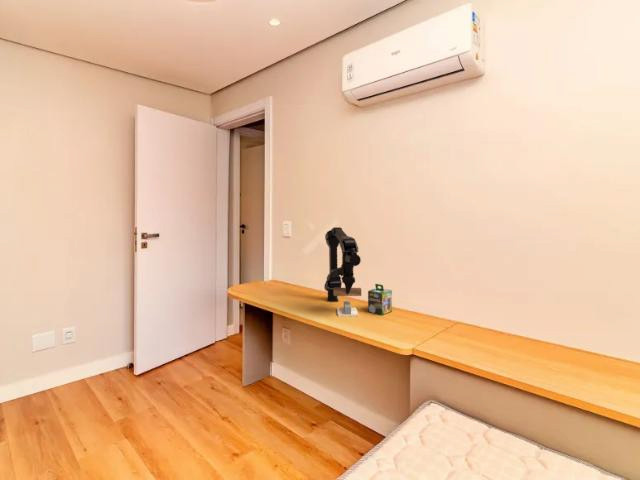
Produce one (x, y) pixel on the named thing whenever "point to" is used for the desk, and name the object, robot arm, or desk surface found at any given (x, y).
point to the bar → (343, 293)
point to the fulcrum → (347, 310)
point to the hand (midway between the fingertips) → (347, 292)
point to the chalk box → (380, 300)
